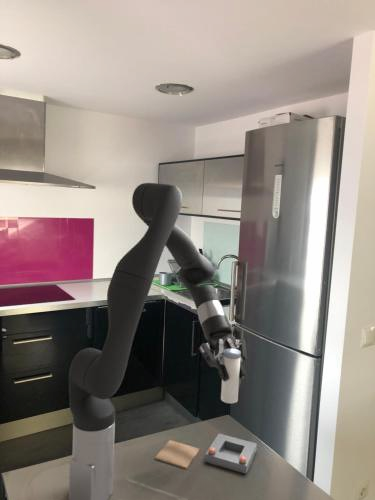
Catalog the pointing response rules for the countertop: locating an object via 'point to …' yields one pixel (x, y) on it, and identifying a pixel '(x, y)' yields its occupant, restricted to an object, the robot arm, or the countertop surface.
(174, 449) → the pad
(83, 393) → the robot arm
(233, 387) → the ball
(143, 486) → the countertop surface
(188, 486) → the countertop surface
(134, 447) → the countertop surface
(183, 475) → the countertop surface
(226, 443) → the block
